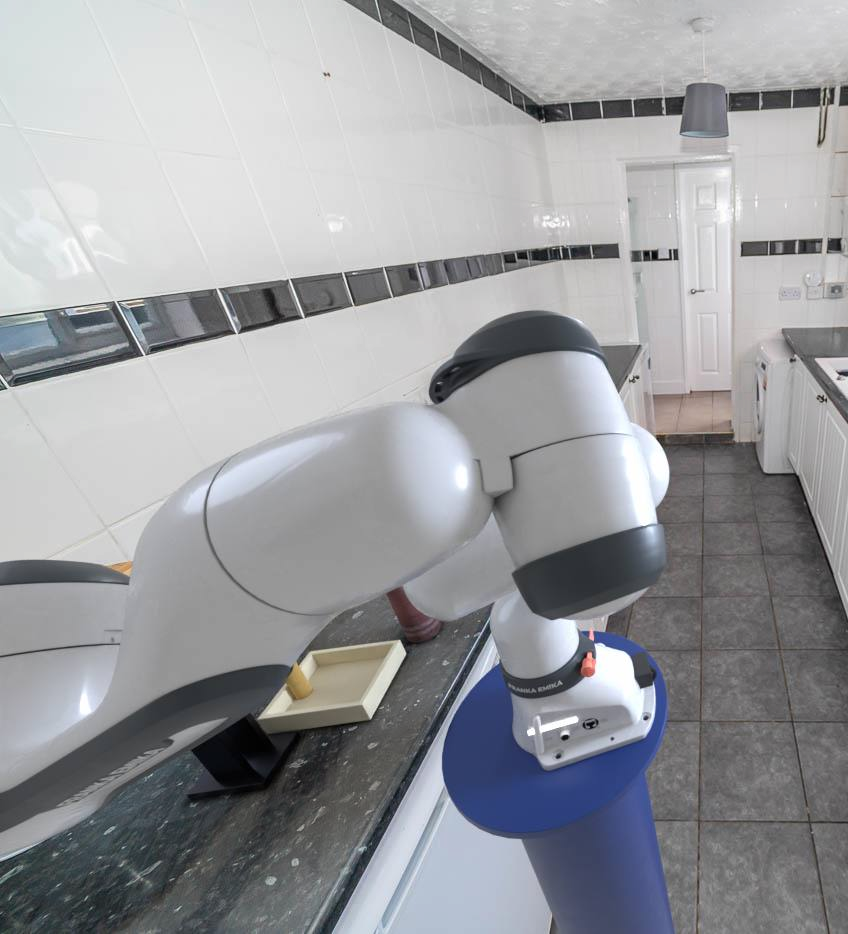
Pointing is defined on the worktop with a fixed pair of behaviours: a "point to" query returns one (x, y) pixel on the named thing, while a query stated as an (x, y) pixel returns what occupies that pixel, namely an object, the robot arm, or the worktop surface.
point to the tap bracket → (240, 759)
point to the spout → (298, 683)
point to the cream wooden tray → (336, 687)
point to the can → (412, 618)
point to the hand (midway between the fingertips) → (197, 661)
